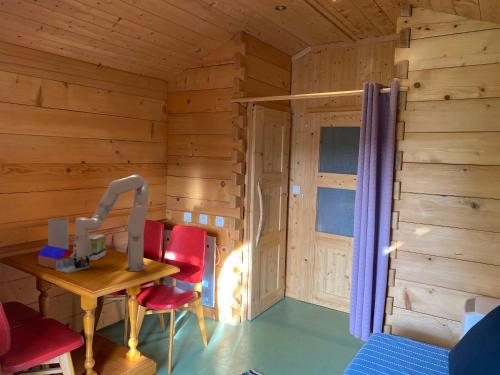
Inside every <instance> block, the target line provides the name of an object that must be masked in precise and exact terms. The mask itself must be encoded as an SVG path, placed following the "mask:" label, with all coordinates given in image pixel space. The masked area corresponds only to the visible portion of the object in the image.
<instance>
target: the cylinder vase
mask: <svg viewBox="0 0 500 375" xmlns="http://www.w3.org/2000/svg"><path fill="white" fill-rule="evenodd" d="M69 222H70V221H69V218H66V217H65V218H64V217H57V218H56V217H55V218H49V219H48V221H47V225H48V230H47V232H48V234H47V240H48V242H47V244H48V246H53V247H58V248H63V249H68V250H69V249H70V248H69V246H70V245H69V243H70V242H69V238H70V237H69V232H70V231H69V230H70V229H69V225H70V224H69ZM69 251H70V250H69Z"/></svg>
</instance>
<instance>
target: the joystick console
mask: <svg viewBox="0 0 500 375" xmlns="http://www.w3.org/2000/svg"><path fill="white" fill-rule="evenodd" d="M79 260H81V257H80V258H79ZM89 268H91V265H89V266H87V267H83V268H80V267H79V268H75V261H74V260H73V259H72V258H69V259H65V260H60V261H56V269H55V271H57V272H60V273H64V274H70V273H74V272H78V271H82V270H86V269H89Z"/></svg>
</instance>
